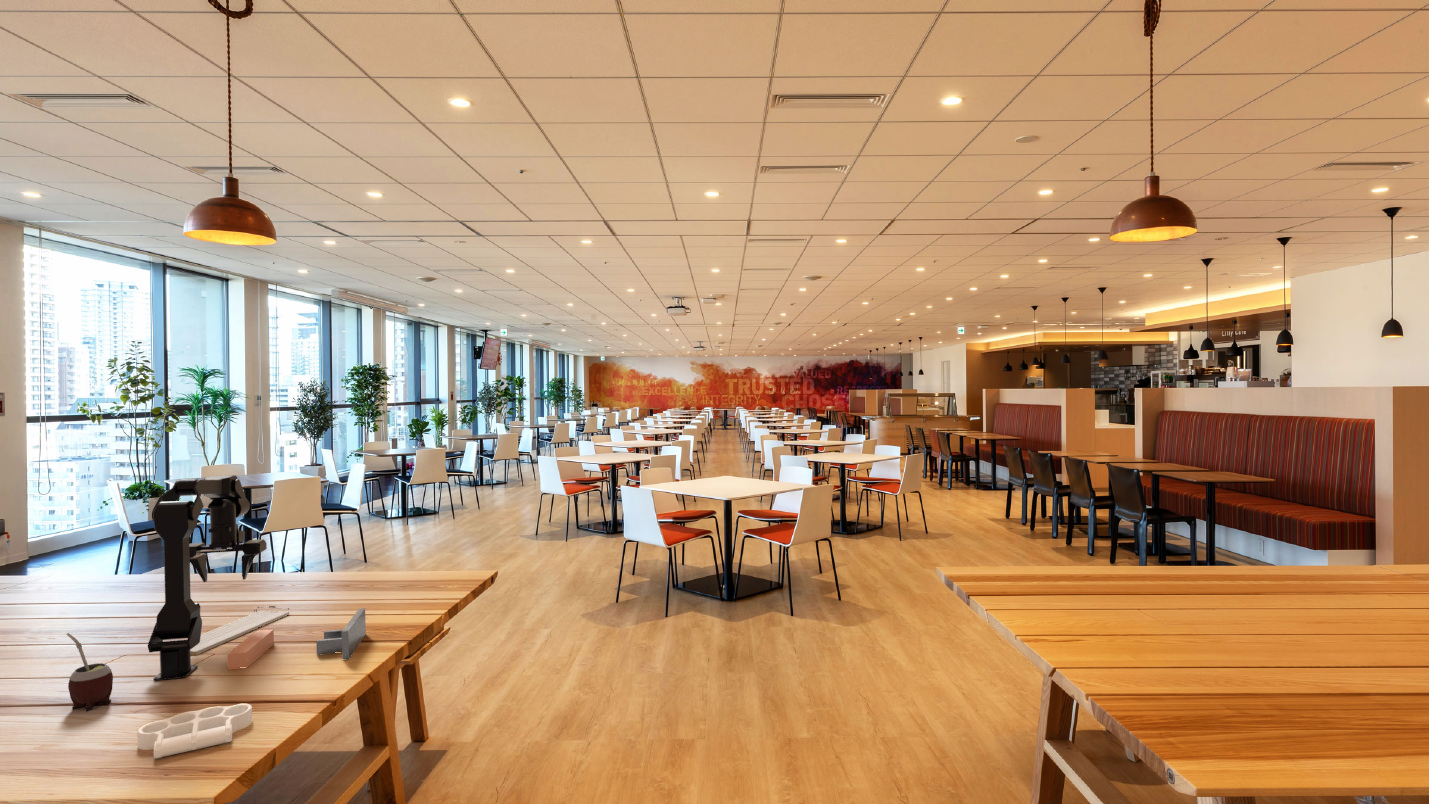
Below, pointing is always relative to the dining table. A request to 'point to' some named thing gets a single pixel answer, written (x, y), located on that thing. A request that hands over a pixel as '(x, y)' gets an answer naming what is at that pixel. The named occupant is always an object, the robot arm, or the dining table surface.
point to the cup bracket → (344, 637)
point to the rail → (250, 649)
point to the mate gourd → (90, 683)
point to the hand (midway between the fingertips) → (225, 580)
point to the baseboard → (236, 629)
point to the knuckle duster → (194, 729)
